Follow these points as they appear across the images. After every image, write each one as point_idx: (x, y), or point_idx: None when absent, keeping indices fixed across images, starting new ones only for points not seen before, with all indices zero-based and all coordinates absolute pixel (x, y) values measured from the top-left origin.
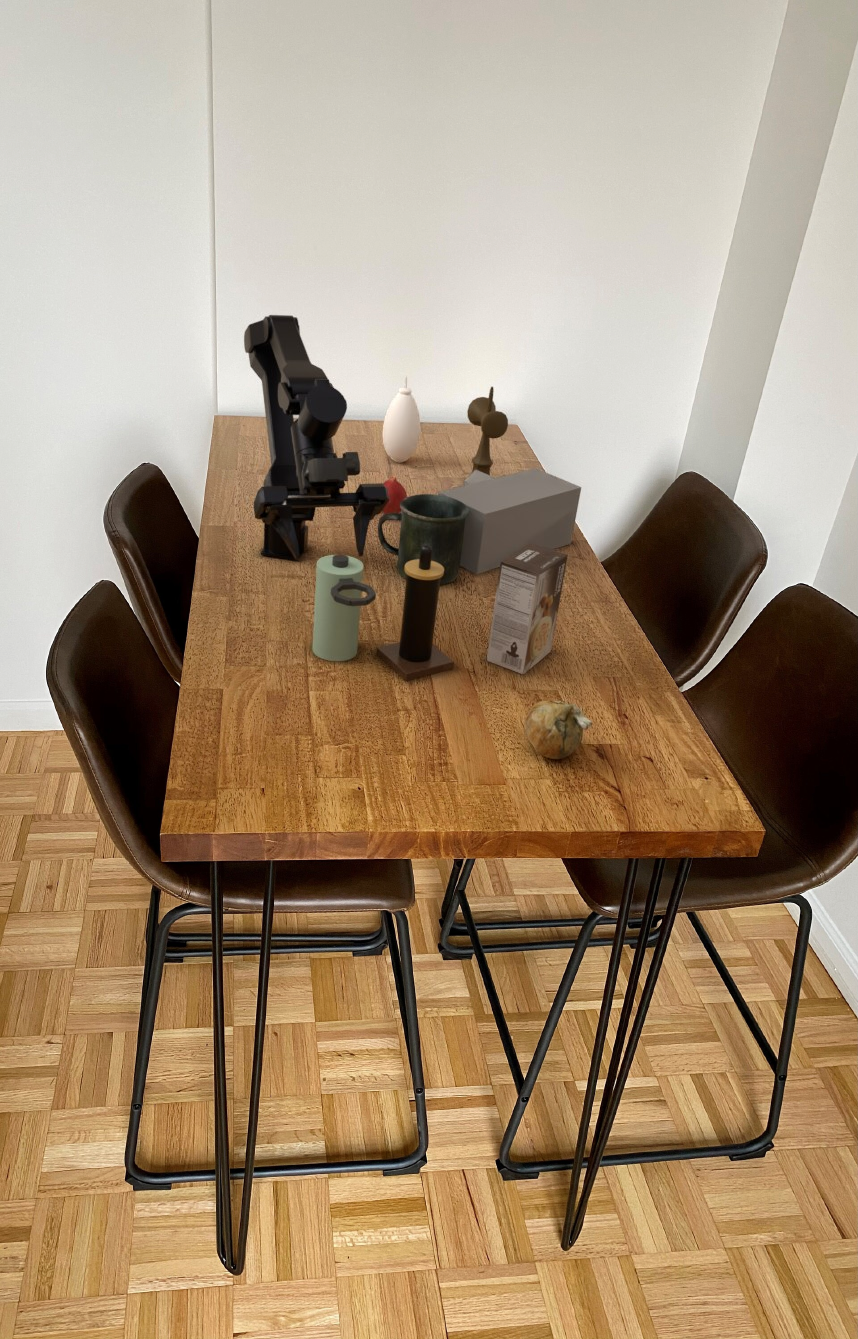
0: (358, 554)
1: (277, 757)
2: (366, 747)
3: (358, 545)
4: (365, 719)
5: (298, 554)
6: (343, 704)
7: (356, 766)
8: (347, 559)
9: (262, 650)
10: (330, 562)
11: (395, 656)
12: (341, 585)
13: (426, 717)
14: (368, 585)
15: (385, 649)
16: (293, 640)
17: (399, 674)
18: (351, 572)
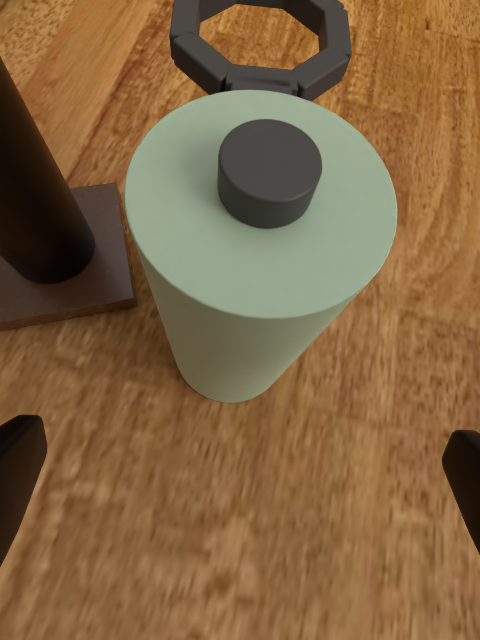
0: (41, 464)
1: (403, 71)
2: (269, 58)
3: (6, 485)
4: None
5: (473, 437)
6: None
7: (296, 30)
8: (235, 129)
9: (403, 381)
10: (315, 220)
11: (106, 250)
12: (301, 64)
13: (139, 93)
14: (180, 40)
15: (115, 284)
16: (321, 416)
17: (123, 215)
18: (230, 103)
